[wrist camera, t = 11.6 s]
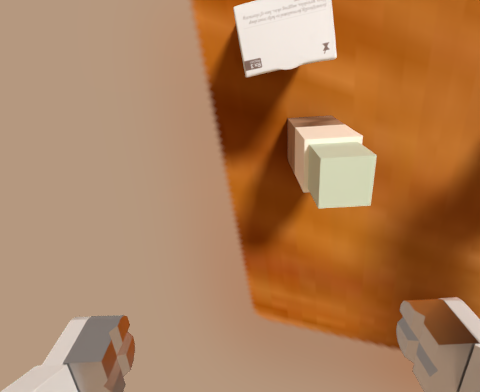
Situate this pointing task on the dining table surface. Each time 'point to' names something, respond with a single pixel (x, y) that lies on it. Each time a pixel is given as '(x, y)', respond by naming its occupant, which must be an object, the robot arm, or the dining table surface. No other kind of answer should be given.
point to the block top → (317, 136)
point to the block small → (341, 174)
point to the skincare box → (284, 34)
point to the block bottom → (305, 123)
